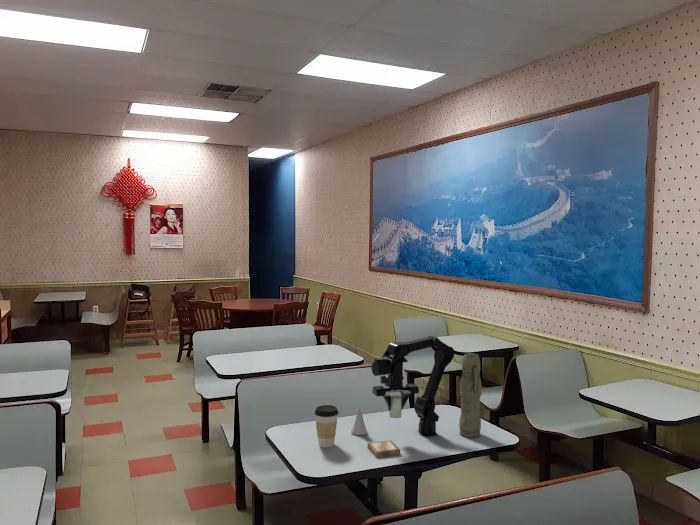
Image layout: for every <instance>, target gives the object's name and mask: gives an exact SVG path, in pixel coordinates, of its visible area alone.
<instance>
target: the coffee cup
mask: <svg viewBox="0 0 700 525" xmlns="http://www.w3.org/2000/svg"><path fill="white" fill-rule="evenodd" d="M313 414H314V415H315V427H316V433H317V434H316V435H317V436H316V437H317V440H318V441H317V442H318V446H320V448H332V447H334V445H335V438H336V434H337V433H336V432H337V425H338V415H339V410H338V407H337V406H335V405H328V404H324V405H319V406H316V408H315V410H314V413H313Z"/></svg>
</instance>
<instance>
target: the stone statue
mask: <svg viewBox="0 0 700 525" xmlns="http://www.w3.org/2000/svg"><path fill="white" fill-rule="evenodd" d="M461 372H462V374H461V378H460V382H459V394H460V402H461V403H460V417H459V423H458V424H459V435H460V436H461V437H464V438H467V439H476V438H477V439H478V438H480V437H481V428H482V418H481V417H480V416H481V414H480V413H481V410H480V408H481V395H482V381H481V374H480V373H481V359H480V356H479V354H477V353H476V352H466V353H464V354H463V356H462V360H461Z"/></svg>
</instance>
